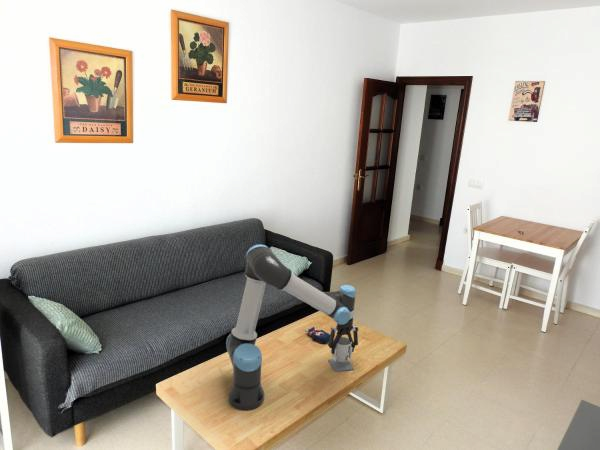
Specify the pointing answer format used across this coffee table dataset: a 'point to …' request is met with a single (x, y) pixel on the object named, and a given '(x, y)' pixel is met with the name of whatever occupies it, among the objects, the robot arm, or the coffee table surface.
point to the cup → (343, 349)
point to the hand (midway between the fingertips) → (341, 358)
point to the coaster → (341, 365)
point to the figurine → (318, 335)
